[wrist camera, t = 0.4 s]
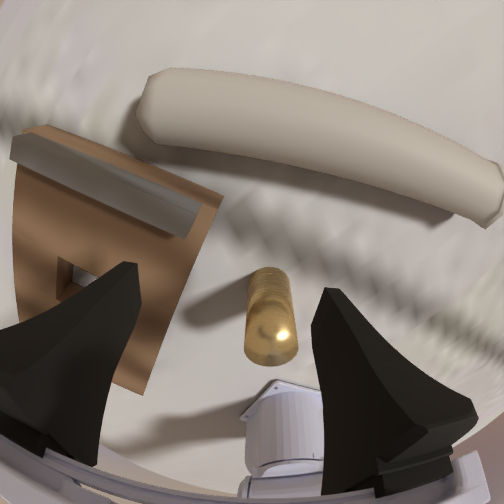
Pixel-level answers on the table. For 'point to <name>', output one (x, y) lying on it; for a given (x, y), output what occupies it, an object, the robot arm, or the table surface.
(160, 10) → the table surface
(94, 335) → the robot arm
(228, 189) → the table surface
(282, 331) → the brass cylinder
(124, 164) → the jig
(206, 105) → the tube
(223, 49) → the table surface
